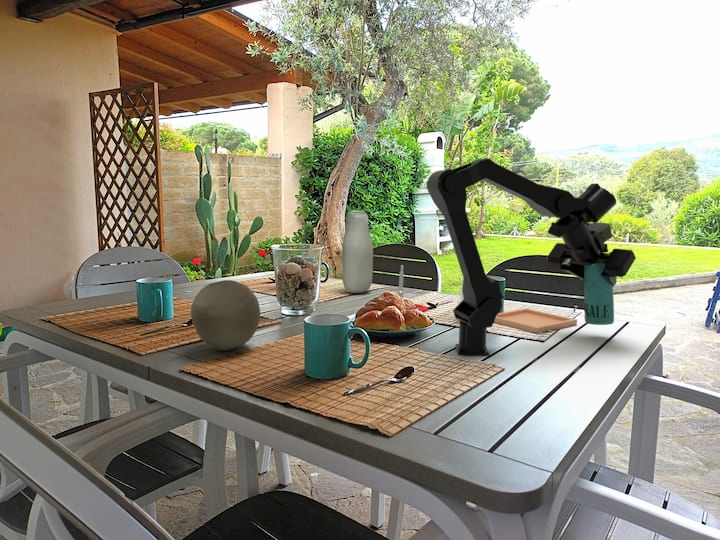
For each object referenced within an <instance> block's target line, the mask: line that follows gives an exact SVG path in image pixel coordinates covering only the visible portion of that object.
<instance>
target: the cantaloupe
mask: <svg viewBox="0 0 720 540" xmlns="http://www.w3.org/2000/svg"><path fill="white" fill-rule="evenodd" d="M190 316H191V321H192V324H193V327H194V329H195V331H196V334H198V336H199V338H200V339H201V340H202V341H203V342H204V343H205V344H206V345H207V346H209V347H210V348H212V349H215V350H218V351H223V352H224V351H233V349H236V348H240V347H241V346H244V345H245V344H246V343H247V342H249V341H250V340H251V339H252V338H253V336H254V335H255V333H256V331H257V330H258V327H259V324H260V319H261V308H260V304H259V300H258V298H257V296H256V295H255V293H254V291H252V289H251V288H250V287H248V286H247V285H246V284H244V283H241V282H238V281H236V280H231V279H230V280H229V279H226V280H225V279H224V280H219V281H215V282H210V283H209V284H206V285H205V286H203V288H201V289H200V290H199V292H198V293H196V296H195V297H194V299H193V301H192V304H191V308H190Z"/></svg>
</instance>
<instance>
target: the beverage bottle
mask: <svg viewBox="0 0 720 540" xmlns="http://www.w3.org/2000/svg"><path fill="white" fill-rule="evenodd" d="M604 244H605V248H604V249H603V250H601V251H600V253H609V248H608V243H604ZM603 270H604V265H603V263H596V264H595V265H591V266H588V265H584V280H583V288H584V289H583V291H584V292H583V293H584V298H583V299H584V305H583V307H584V308H583V312H584V321H585V323H586V324H588V325H595V326H608V325H613V324H614V322H615V308H614V307H615V306H614V305H615V301H614V300H615V299H614V286H612V285H611V284H610V283H608V282H607V281H606V280H605V279H604V278H603V277H602V276H601V273H602V272H603Z"/></svg>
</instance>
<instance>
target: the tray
mask: <svg viewBox="0 0 720 540" xmlns="http://www.w3.org/2000/svg"><path fill="white" fill-rule="evenodd" d="M577 322H578V319H577V318H572V317H566V316H563V315H558V314H553V313H549V312H545V311H544V312H543V311H539V310H536V309H535V310H534V309H531V308H526V307H525V308H522V309H521V308H520V309H515V310H509V311H503V312H499V313H498V314H497V315H496V318H495V320H494V323H493V324H498V325H502V326H506V327H509V328H512V327H513V329H516V328H518V329H517V330H520V329H522V330H521V331H524V330H526V331H525V332H528V331H531V332H530V333H532V332H535V333H540V332H544V331H549V330H554V329H558V330H562V329H566V328H570V327H576V326H577V324H578V323H577ZM554 331H555V330H554ZM549 332H550V331H549ZM535 333H534V334H535ZM540 334H541V333H540Z"/></svg>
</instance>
